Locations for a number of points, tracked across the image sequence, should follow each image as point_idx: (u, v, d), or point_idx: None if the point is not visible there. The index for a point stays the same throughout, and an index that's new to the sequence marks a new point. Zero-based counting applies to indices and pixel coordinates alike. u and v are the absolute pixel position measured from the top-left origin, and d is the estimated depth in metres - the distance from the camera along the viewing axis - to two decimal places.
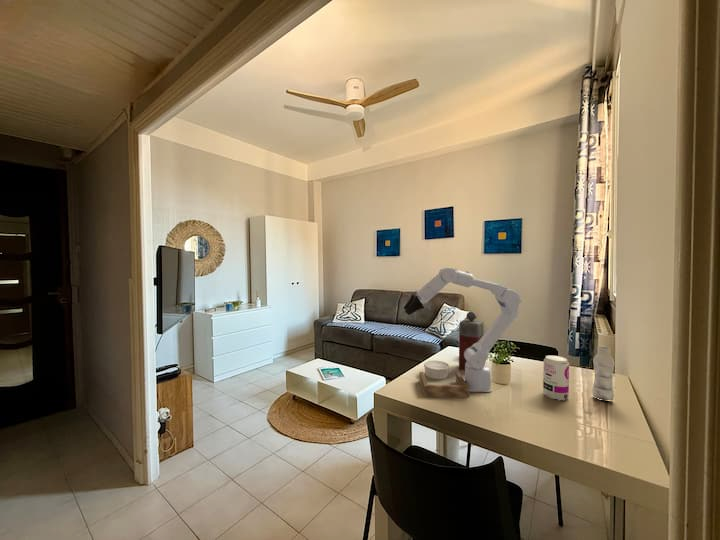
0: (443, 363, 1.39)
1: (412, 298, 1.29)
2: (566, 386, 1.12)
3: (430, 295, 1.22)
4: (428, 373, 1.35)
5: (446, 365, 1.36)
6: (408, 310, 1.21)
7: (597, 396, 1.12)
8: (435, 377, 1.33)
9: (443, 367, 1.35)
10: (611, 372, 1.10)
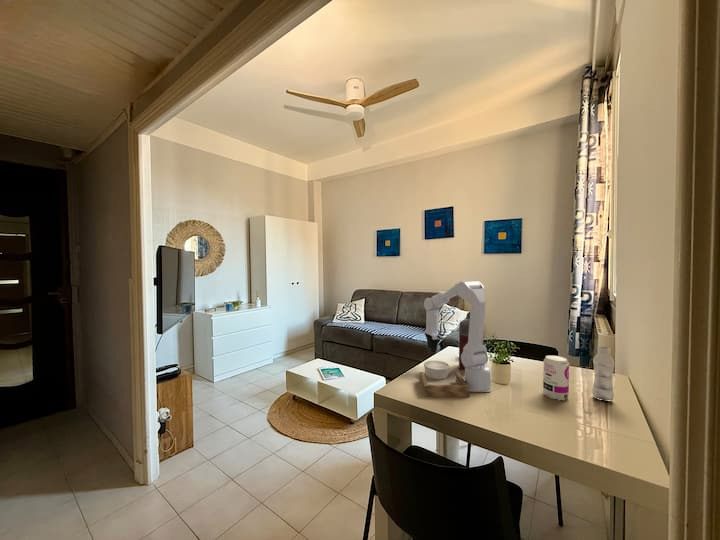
0: (443, 363, 1.39)
1: (427, 337, 1.51)
2: (566, 386, 1.12)
3: (435, 327, 1.45)
4: (428, 373, 1.35)
5: (446, 365, 1.36)
6: (432, 350, 1.43)
7: (597, 396, 1.12)
8: (435, 377, 1.33)
9: (443, 367, 1.35)
10: (611, 372, 1.10)
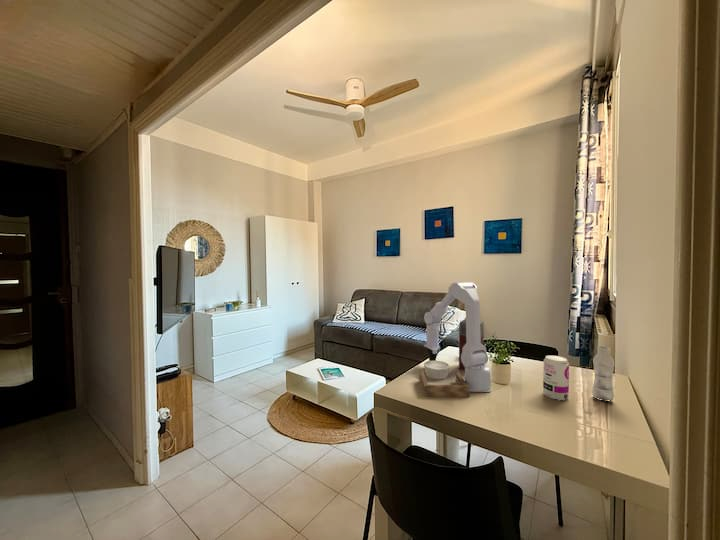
0: (443, 363, 1.39)
1: None
2: (566, 386, 1.12)
3: (436, 341, 1.45)
4: (428, 373, 1.35)
5: (446, 365, 1.36)
6: None
7: (597, 396, 1.12)
8: (435, 377, 1.33)
9: (443, 367, 1.35)
10: (611, 372, 1.10)
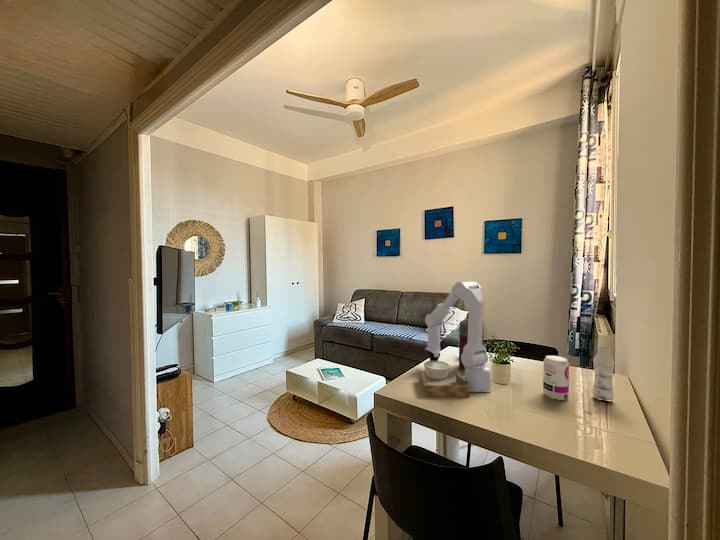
0: (443, 363, 1.38)
1: None
2: (566, 386, 1.12)
3: (437, 344, 1.41)
4: (428, 373, 1.34)
5: (446, 365, 1.36)
6: None
7: (597, 396, 1.12)
8: (435, 377, 1.33)
9: (443, 367, 1.34)
10: (611, 372, 1.10)
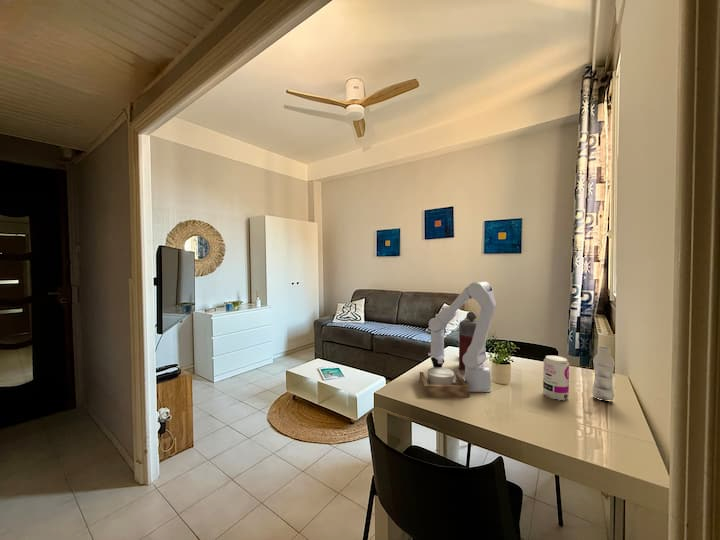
0: (447, 370, 1.30)
1: None
2: (566, 386, 1.12)
3: (441, 349, 1.33)
4: (432, 381, 1.26)
5: (451, 372, 1.27)
6: None
7: (597, 396, 1.12)
8: None
9: (448, 374, 1.26)
10: (611, 372, 1.10)
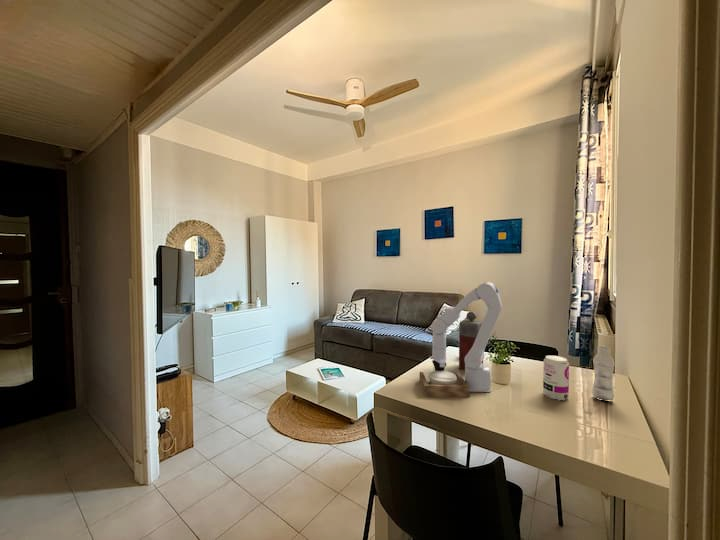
0: (450, 374, 1.25)
1: None
2: (566, 386, 1.12)
3: (443, 352, 1.28)
4: None
5: (453, 376, 1.23)
6: None
7: (597, 396, 1.12)
8: None
9: (450, 379, 1.21)
10: (611, 372, 1.10)
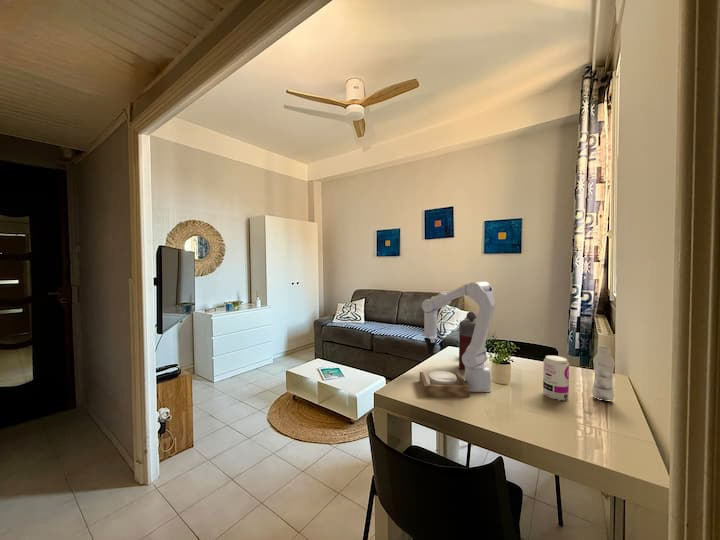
0: (450, 374, 1.25)
1: None
2: (566, 386, 1.12)
3: (434, 329, 1.38)
4: None
5: (453, 376, 1.23)
6: (429, 351, 1.40)
7: (597, 396, 1.12)
8: None
9: (450, 379, 1.21)
10: (611, 372, 1.10)
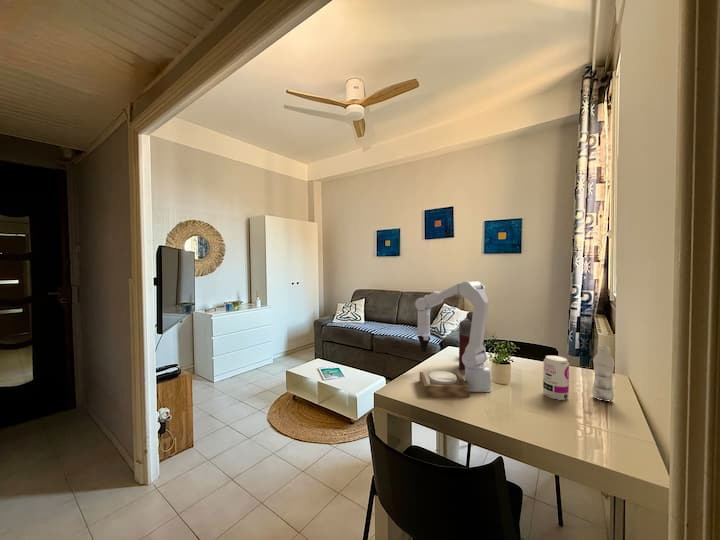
0: (450, 374, 1.25)
1: None
2: (566, 386, 1.12)
3: (427, 327, 1.40)
4: None
5: (453, 376, 1.23)
6: (422, 349, 1.42)
7: (597, 396, 1.12)
8: None
9: (450, 379, 1.21)
10: (611, 372, 1.10)
